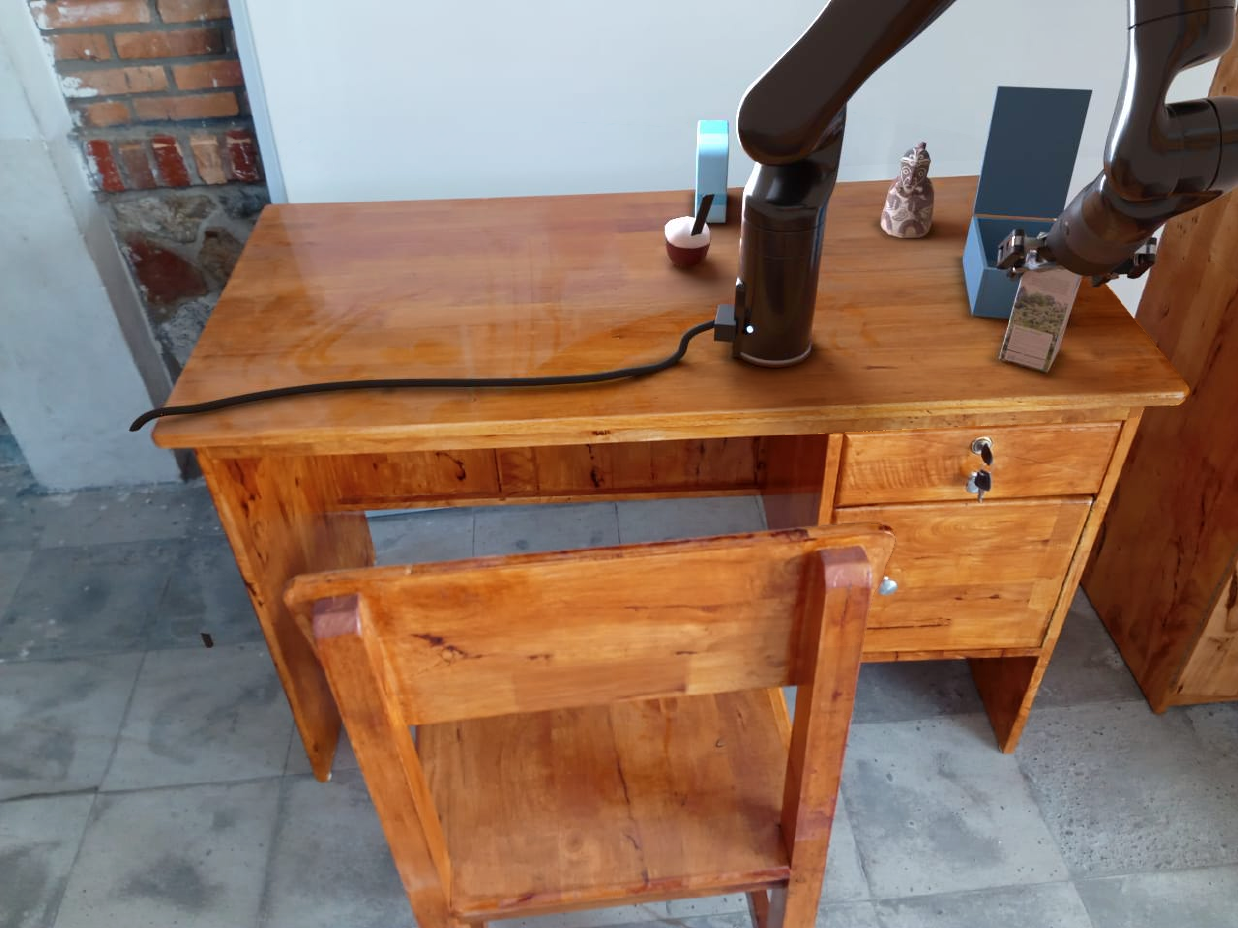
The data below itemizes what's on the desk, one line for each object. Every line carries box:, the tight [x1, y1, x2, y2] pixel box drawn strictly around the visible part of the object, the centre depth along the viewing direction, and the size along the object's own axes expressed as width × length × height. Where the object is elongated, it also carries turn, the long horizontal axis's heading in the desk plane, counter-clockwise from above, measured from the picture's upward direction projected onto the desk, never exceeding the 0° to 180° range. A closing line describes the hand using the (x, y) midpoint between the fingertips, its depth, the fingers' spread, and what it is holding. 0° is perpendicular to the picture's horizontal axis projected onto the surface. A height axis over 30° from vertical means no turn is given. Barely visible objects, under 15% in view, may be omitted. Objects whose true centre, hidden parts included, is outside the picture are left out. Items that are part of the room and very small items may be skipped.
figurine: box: [880, 141, 935, 239], centre depth 137 cm, size 7×7×12 cm
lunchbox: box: [962, 215, 1056, 320], centre depth 124 cm, size 15×11×7 cm
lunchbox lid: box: [972, 85, 1093, 220], centre depth 123 cm, size 16×11×1 cm
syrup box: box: [998, 232, 1083, 374], centre depth 109 cm, size 6×6×14 cm
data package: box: [694, 120, 730, 224], centre depth 143 cm, size 12×4×12 cm, turn 175°
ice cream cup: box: [664, 194, 715, 268], centre depth 130 cm, size 10×6×12 cm, turn 2°
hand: (1053, 275), depth 106 cm, fingers open, 8 cm apart
